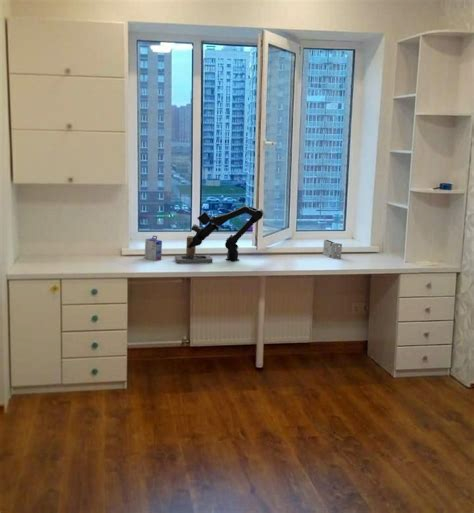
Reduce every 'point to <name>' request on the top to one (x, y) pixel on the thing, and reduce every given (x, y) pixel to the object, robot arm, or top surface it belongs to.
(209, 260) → the grey flat block
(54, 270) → the top surface
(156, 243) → the ink cartridge box
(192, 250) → the walnut peg
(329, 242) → the hinge
